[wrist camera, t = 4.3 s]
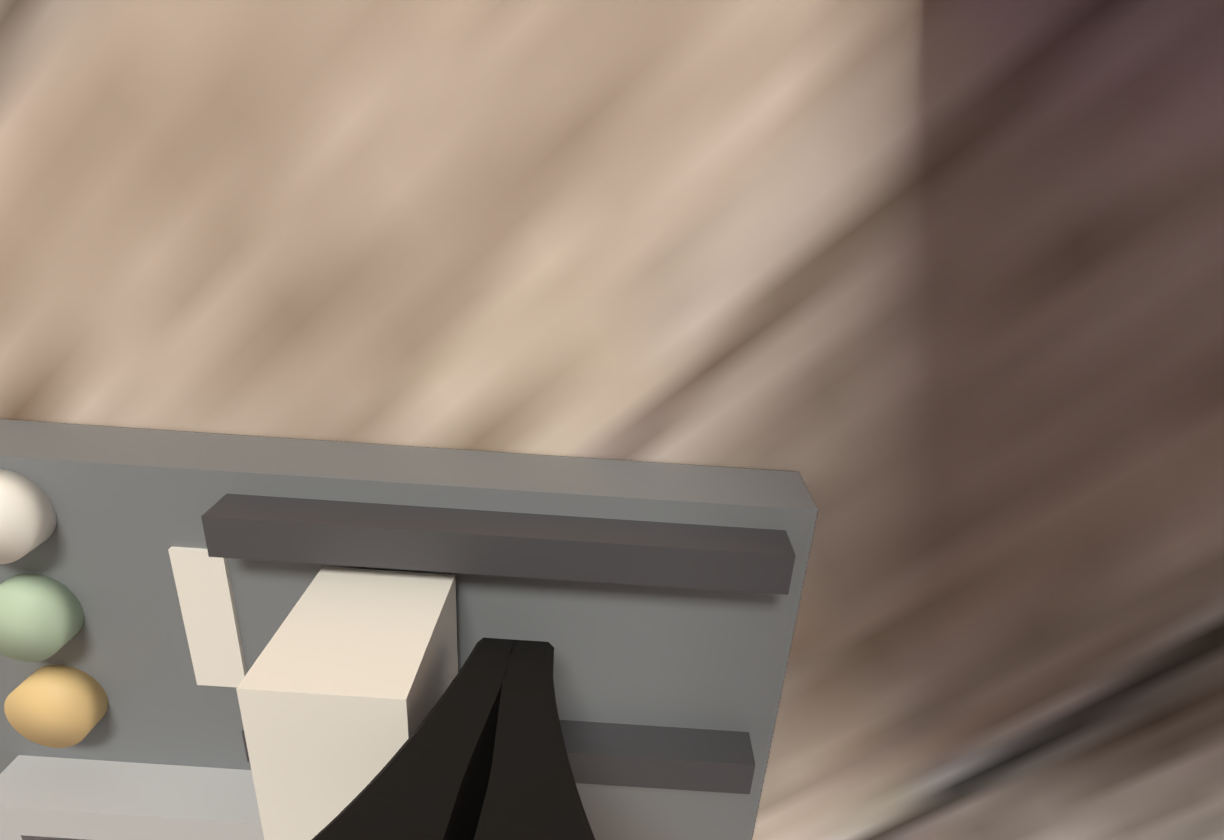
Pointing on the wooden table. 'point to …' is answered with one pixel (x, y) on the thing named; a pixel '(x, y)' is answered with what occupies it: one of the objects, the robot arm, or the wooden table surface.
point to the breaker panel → (395, 541)
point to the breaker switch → (344, 690)
